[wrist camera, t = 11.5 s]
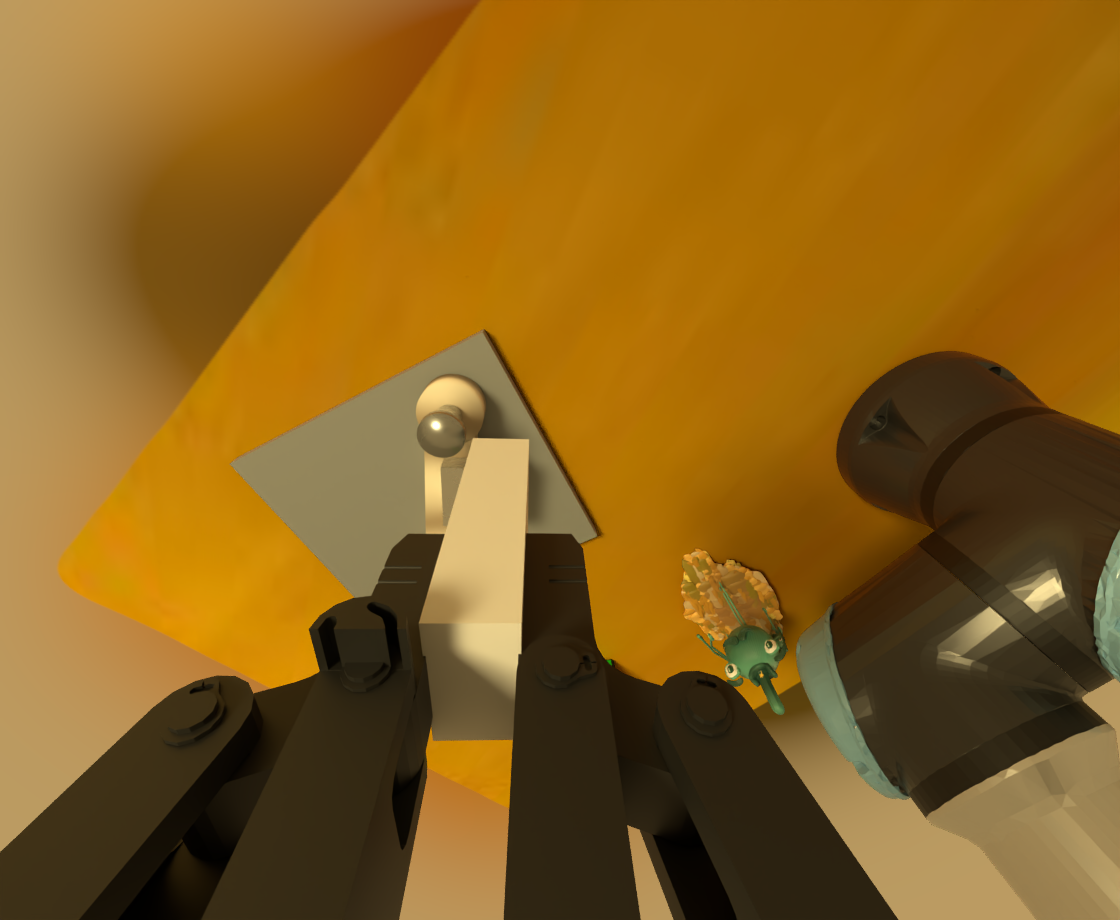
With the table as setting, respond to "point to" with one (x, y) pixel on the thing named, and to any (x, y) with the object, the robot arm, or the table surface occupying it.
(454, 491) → the beige block
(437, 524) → the link
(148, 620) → the table surface
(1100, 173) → the table surface
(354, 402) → the base plate
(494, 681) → the robot arm
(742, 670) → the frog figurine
